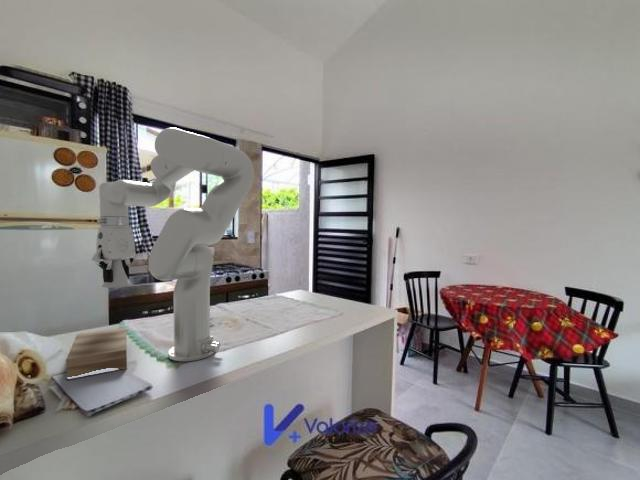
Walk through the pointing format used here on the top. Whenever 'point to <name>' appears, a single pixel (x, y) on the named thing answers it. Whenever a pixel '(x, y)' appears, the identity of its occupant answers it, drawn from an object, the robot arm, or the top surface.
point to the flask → (117, 276)
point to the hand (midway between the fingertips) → (116, 280)
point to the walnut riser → (97, 352)
